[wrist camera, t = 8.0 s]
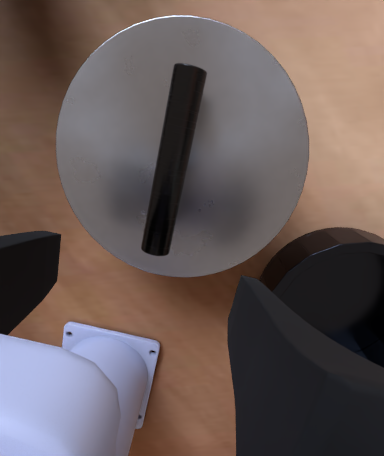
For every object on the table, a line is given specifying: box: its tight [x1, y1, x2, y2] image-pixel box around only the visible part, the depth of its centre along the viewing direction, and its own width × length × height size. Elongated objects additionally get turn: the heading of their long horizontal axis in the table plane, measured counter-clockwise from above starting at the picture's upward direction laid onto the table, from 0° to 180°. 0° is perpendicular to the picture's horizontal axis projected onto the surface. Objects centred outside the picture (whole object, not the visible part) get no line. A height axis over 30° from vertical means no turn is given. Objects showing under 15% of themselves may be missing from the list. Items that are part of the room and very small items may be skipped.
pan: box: [259, 227, 384, 368], centre depth 21 cm, size 11×11×3 cm
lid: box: [56, 16, 309, 277], centre depth 13 cm, size 12×12×5 cm
